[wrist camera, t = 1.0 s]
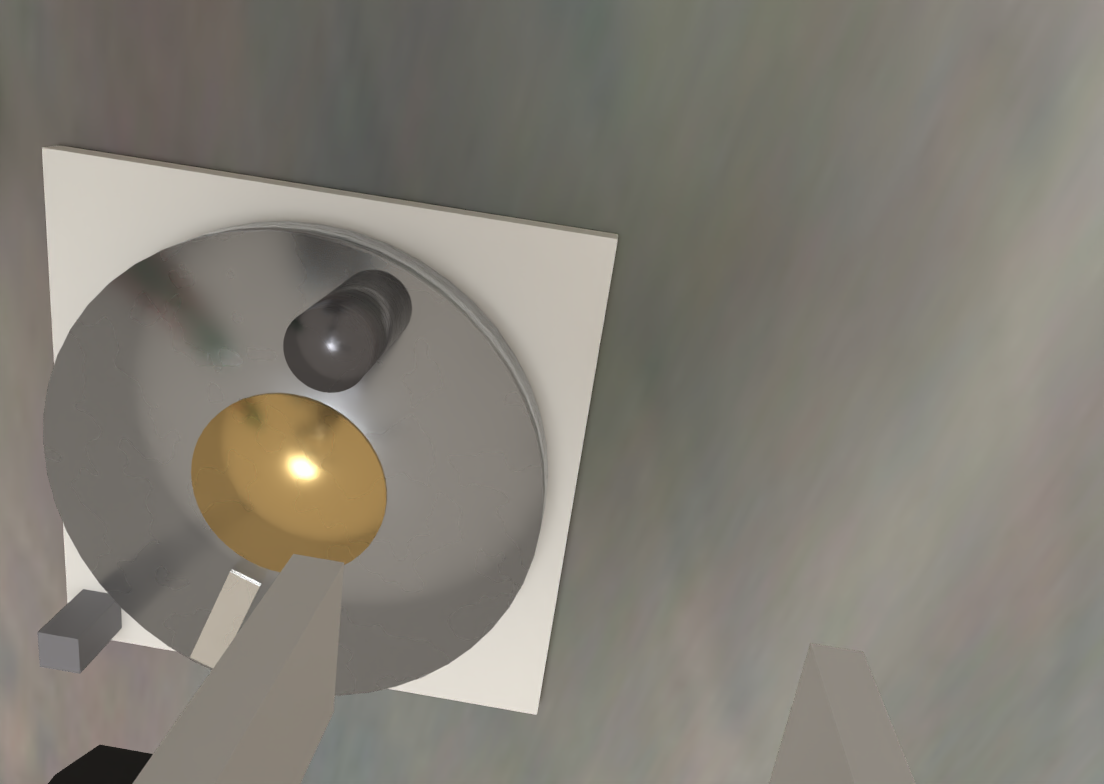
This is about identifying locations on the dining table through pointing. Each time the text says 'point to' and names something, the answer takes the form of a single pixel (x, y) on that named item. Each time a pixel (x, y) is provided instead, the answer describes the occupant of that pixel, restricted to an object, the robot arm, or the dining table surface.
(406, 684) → the base plate
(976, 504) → the dining table surface
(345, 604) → the turntable
